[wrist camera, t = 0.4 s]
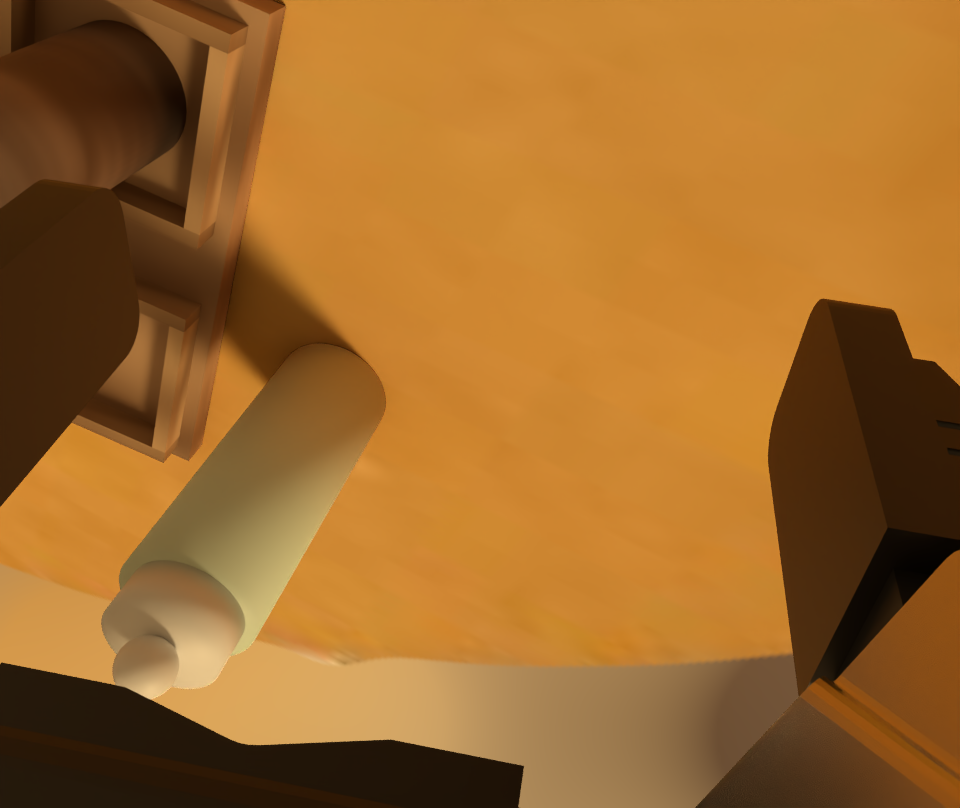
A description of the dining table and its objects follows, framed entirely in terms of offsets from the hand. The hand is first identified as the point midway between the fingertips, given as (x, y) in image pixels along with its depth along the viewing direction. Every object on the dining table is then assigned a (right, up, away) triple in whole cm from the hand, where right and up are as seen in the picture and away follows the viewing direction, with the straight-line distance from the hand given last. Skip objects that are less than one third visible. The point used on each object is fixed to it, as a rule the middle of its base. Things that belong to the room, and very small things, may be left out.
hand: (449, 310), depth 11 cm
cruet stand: (-13, +6, +24) cm, 28 cm away
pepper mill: (-12, +9, +20) cm, 25 cm away
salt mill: (-6, -1, +27) cm, 28 cm away
